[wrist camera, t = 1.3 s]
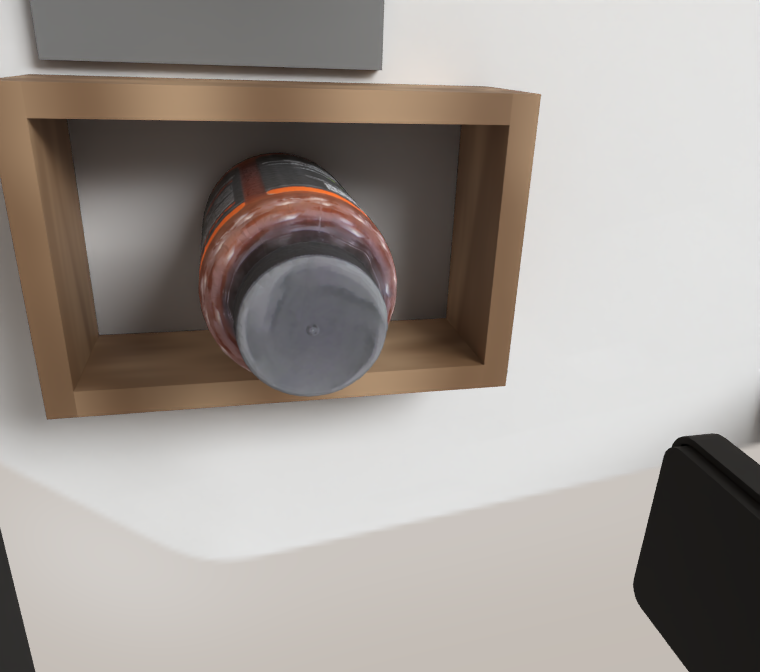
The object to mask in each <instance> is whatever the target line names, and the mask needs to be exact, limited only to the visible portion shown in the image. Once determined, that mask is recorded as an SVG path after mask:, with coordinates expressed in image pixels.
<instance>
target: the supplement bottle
mask: <svg viewBox="0 0 760 672" xmlns="http://www.w3.org/2000/svg"><path fill="white" fill-rule="evenodd" d="M396 288H397V277H396V270H395V266H394V262H393V258H392V255H391V252H390V250H389V248H388V246H387V244H386V242H385V240H384V238H383V236H382V235H381V233H380V231H379V230H378V229H377V227H376V226H375V225H374V223H373V222H372V221H371V220H370V218H369V217H368V216H367V215H366V214H365V212H364V211H363V210H362V209H361V208H360V207H359V206H358V205H357V204H356V203H355V201H354V200H353V199H352V198H351V197H350V196H349V195H348V193H347V192H346V191H345V190H344V189H343V188H342V187H341V185H340V184H339V183H338V182H337V181H336V180H335V179H334V178H333V177H332V176H331V175H330V174H329V173H328V172H327V171H325V170H324V169H323V168H322V167H320V166H318V165H317V164H315V163H314V162H312V161H310V160H307V159H305V158H302V157H298V156H296V155H291V154H286V153H269V154H263V155H258V156H255V157H252V158H249V159H247V160H245V161H243V162H241V163H239V164H237V165H235V166H234V167H232V168H231V169H230V170H229V171H228V172H226V173H225V175H224V176H223V177H222V178H221V179H220V180H219V182H218V183H217V184H216V186H215V187H214V189H213V191H212V193H211V195H210V197H209V200H208V202H207V205H206V209H205V212H204V218H203V226H202V242H201V256H200V268H199V298H200V304H201V310H202V313H203V316H204V319H205V321H206V324H207V327H208V329H209V331H210V333H211V335H212V336H213V338H214V339H215V341H216V342H217V344H218V345H219V347H220V348H221V349H222V350H223V352H224V353H225V354H226V355H228V356H229V357H230V358H231V359H232V360H233V361H234V362H236V363H237V364H238V365H240V366H241V367H243V368H245V369H247V370H248V371H250V372H252V373H253V374H254V375H255V376H256V377H257V378H258V379H259V380H260V381H262V382H263V383H265V384H266V385H268V386H270V387H271V388H273V389H276V390H278V391H280V392H283V393H286V394H290V395H296V396H307V397H312V396H320V395H326V394H331V393H334V392H337V391H339V390H342V389H344V388H345V387H347V386H349V385H351V384H352V383H354V382H355V381H356V380H359V379H360V378H361V377H362V376H363V375H364V374H365V373H366V372H367V371H368V370H369V369H370V368H371V367H372V365H373V364H374V363H375V361H376V360H377V359H378V357H379V355H380V353H381V350H382V348H383V345H384V342H385V338H386V333H387V330H388V324H389V322H390V320H391V316H392V313H393V311H394V307H395V302H396V295H397V289H396Z"/></svg>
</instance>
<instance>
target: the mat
mask: <svg viewBox="0 0 760 672" xmlns="http://www.w3.org/2000/svg"><path fill="white" fill-rule="evenodd" d="M30 6H31V12H32V19H33V25H34V31H35V38H36V44H37V50H38V56H39V59H40V60H72V61H104V62H136V63H168V64H200V65H231V66H263V67H295V68H327V69H359V70H382V51H383V19H384V0H30Z"/></svg>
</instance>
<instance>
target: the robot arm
mask: <svg viewBox="0 0 760 672" xmlns="http://www.w3.org/2000/svg"><path fill="white" fill-rule="evenodd" d="M633 588H634V593H635V597H636V600H637V602H638V604H639V605H640V607H641V609H642V610H643V611H644V613H645V614H646V615H647V616H648V617H649V619H650V620H651V622H652V623H653V624H654V626H655V627H656V629H657V630H658V631H659V633H661V635H662V637H663V638H664V639H665V640H666V642H667V643H668V645H669V646H670V647H671V649H672V650H673V651H674V653H675V654H676V655H677V656H678V658H679V659H680V660H681V662H682V663H683V665H684V666H685V667H686V669H687V670H688V671H689V672H760V465H759V464H758V463H757V462H755V461H754V460H753V459H752V458H750V457H749V456H748V455H746V454H745V453H744V452H743V451H741V450H740V449H739V448H737V447H736V446H735V445H734V444H732V443H731V442H730V441H728V440H727V439H726V438H724V437H723V436H721V435H719V434H703V435H693V436H683V437H680V438H678V439H677V440H676V441H675V442H674V443H673V445H672V448H669V449H668V450H667V451H666V452H665V455H664V458H663V462H662V466H661V470H660V474H659V479H658V483H657V487H656V491H655V495H654V499H653V503H652V507H651V511H650V515H649V519H648V523H647V528H646V532H645V536H644V540H643V544H642V548H641V552H640V556H639V560H638V564H637V568H636V573H635V577H634V583H633ZM0 672H35V669H34V665H33V660H32V656H31V652H30V648H29V644H28V640H27V636H26V632H25V628H24V624H23V619H22V615H21V611H20V607H19V603H18V599H17V595H16V591H15V587H14V583H13V579H12V575H11V570H10V566H9V562H8V558H7V554H6V550H5V546H4V542H3V538H2V533H1V530H0Z"/></svg>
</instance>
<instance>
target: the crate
mask: <svg viewBox="0 0 760 672" xmlns="http://www.w3.org/2000/svg"><path fill="white" fill-rule="evenodd" d="M540 99H541V94H535V93H528V92H521V91H515V90H508V89H501V88H494V87H483V86H446V85H409V84H372V83H335V82H297V81H260V80H223V79H186V78H149V77H112V76H75V75H38V74H28V75H20V76H12V77H4V78H0V177H1V183H2V188H3V193H4V198H5V203H6V209H7V214H8V219H9V224H10V229H11V235H12V240H13V245H14V250H15V255H16V261H17V266H18V271H19V276H20V281H21V287H22V292H23V297H24V302H25V307H26V313H27V318H28V323H29V328H30V333H31V339H32V344H33V349H34V354H35V359H36V365H37V370H38V375H39V380H40V385H41V391H42V396H43V401H44V406H45V412H46V417H47V419H59V418H73V417H87V416H100V415H114V414H128V413H142V412H155V411H169V410H183V409H196V408H210V407H224V406H237V405H251V404H265V403H279V402H292V401H306V400H320V399H333V398H347V397H361V396H374V395H388V394H402V393H416V392H429V391H443V390H457V389H470V388H484V387H498V386H505V384H506V376H507V368H508V360H509V352H510V344H511V335H512V327H513V319H514V311H515V303H516V295H517V286H518V278H519V270H520V262H521V254H522V246H523V237H524V229H525V221H526V213H527V205H528V197H529V188H530V180H531V172H532V164H533V156H534V148H535V139H536V131H537V123H538V115H539V107H540ZM67 119H117V120H187V121H257V122H327V123H397V124H461V133H460V146H459V158H458V171H457V184H456V197H455V209H454V222H453V235H452V247H451V260H450V273H449V286H448V298H447V311H446V318H439V319H418V320H398V321H390V322H389V324H388V330H387V333H386V338H385V342H384V345H383V348H382V350H381V353H380V355H379V357H378V359H377V360H376V361H375V363H374V364H373V365H372V367H371V368H370V369H369V370H368V371H367V372H366V373H365V374H364V375H363V376H362V377H361V378H360V379H359V380H356V381H355V382H354V383H352V384H351V385H349V386H347V387H345V388H344V389H342V390H339V391H337V392H334V393H331V394H326V395H320V396H312V397H307V396H296V395H290V394H286V393H283V392H280V391H278V390H276V389H273V388H271V387H270V386H268V385H266V384H265V383H263V382H262V381H260V380H259V379H258V378H257V377H256V376H255V375H254V374H253V373H252V372H250V371H248V370H247V369H245V368H243V367H241V366H240V365H238V364H237V363H236V362H234V361H233V360H232V359H231V358H230V357H229V356H228V355H226V354H225V353H224V352H223V350H222V349H221V348H220V347H219V345H218V344H217V342H216V341H215V339H214V338H213V336H212V335H211V333H210V331H209V330H195V331H175V332H155V333H134V334H114V335H99V333H98V326H97V320H96V313H95V306H94V299H93V292H92V286H91V279H90V272H89V265H88V259H87V252H86V245H85V238H84V232H83V225H82V218H81V211H80V204H79V198H78V191H77V184H76V177H75V171H74V164H73V157H72V150H71V144H70V137H69V130H68V123H67Z"/></svg>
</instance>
